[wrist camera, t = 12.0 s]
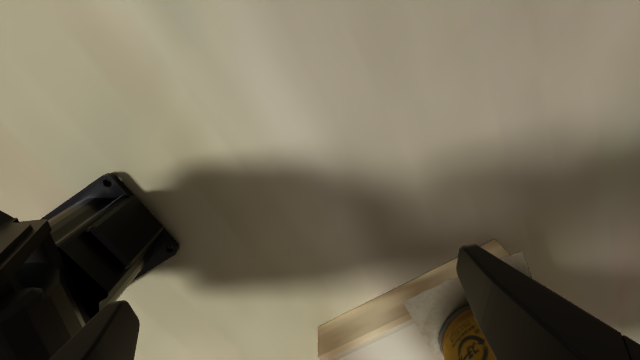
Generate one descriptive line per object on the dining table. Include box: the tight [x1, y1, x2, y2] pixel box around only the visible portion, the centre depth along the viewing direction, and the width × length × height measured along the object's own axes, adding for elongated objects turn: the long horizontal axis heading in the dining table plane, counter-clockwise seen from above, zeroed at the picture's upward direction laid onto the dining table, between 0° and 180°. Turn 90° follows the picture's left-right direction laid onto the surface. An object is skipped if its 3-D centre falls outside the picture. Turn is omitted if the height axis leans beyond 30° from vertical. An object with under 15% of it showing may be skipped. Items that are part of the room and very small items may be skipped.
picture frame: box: [318, 239, 510, 360], centre depth 24 cm, size 14×12×3 cm
